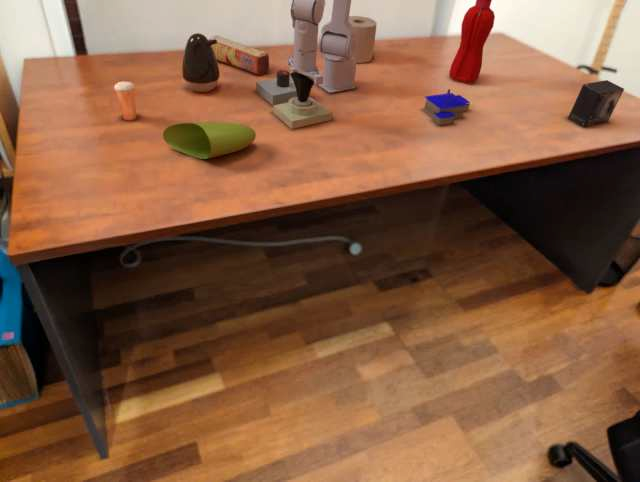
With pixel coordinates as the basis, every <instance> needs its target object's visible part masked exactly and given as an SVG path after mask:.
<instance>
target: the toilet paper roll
mask: <svg viewBox="0 0 640 482" xmlns="http://www.w3.org/2000/svg"><path fill="white" fill-rule="evenodd" d="M348 21H349V23H350V24H351V25H352V27H353V28H354V29H355V30H356V33H357V34H356V49H355V53H354V55H353V57H354V59H355V62H356V64H365V63H368V62H371V60H372V59H373V54H374V48H375V41H376V33H377V22H376V20H375V19H372V18H370V17H366V16H359V15H349V20H348Z"/></svg>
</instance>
